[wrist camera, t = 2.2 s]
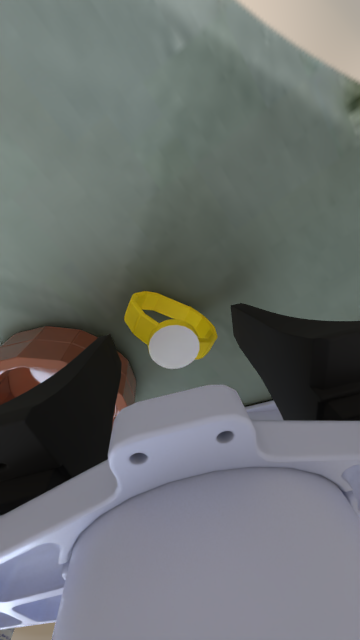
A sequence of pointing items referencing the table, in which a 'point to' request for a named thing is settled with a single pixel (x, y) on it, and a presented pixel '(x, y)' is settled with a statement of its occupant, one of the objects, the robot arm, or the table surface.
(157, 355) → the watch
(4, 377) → the bowl
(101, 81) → the table surface
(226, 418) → the robot arm
